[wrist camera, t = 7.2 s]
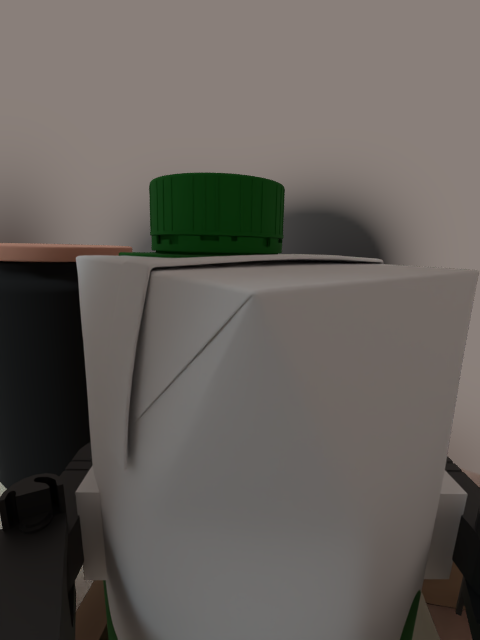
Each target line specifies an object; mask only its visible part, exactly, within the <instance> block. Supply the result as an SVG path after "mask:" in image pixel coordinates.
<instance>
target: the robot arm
mask: <svg viewBox="0 0 480 640" xmlns="http://www.w3.org/2000/svg"><path fill="white" fill-rule="evenodd" d="M0 516H1V522H2V527H3V529H0V640H75V622H76V589H75V580H76V577H77V575H78V573H79V571H80V569H81V567H82V565H83V569H84V579H85V580H107V572H106V560H105V548H104V537H103V525H102V514H101V502H100V492H99V489H98V486H97V483H96V479H95V476H94V471H93V464H92V451H91V442H89V443H88V444H86V445H85V446H84V447H82V448H81V449H80V450H79V451H78V452H77V454H76V455H75V456H74V458H73V459H72V462H70V463H69V464H68V466H67V467H66V468H65V471H63V472H62V474H61V475H60V476H57V475H56V474H49V473H44V474H37V475H33V476H30V477H27V478H24V479H22V480H20V481H18V482H17V483H15V484H13V485H12V486H10V487H9V488H8V489H7V490H6V491H5V492H3V494H2V495H1V497H0ZM453 562H454V563H455V564H456V566H457V567H458V569H459V570H460V572H461V573H462V575H463V578H462V583H461V587H460V591H459V596H458V600H457V604H456V614H458V615H461V614H462V609H463V606H465V609H466V613H467V618H468V622H469V626H470V630H471V634H472V639H473V640H480V488H479V487H478V486H477V485H476V484H475V483H474V482H473V481H472V480H471V479H470V478H469V477H468V476H467V475H466V474H465V473H464V472H462V471H461V469H460V468H459V467H458V466H457V465H456V464H453V462H452V460H451V459H450V458H448V457H447V460H446V466H445V472H444V477H443V482H442V487H441V493H440V498H439V503H438V508H437V513H436V519H435V524H434V529H433V534H432V539H431V544H430V549H429V555H428V560H427V565H426V570H425V575H424V579H449V577H450V573H451V568H452V563H453Z"/></svg>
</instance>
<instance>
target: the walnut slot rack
mask: <svg viewBox="0 0 480 640" xmlns="http://www.w3.org/2000/svg"><path fill="white" fill-rule="evenodd" d="M462 578H463V575H462V573H461V572H460V570H459V569H458V567H457V566H456V564H455V563H454V562H453V563H452V568H451V573H450V577H449V579H424V580H423V585H422V591H421V596H420V601H419V606H418V611H417V616H416V621H415V627H414V632H413V637H412V640H440V638H439V635H438V633H437V630H436V627H435V625H434V622H433V620H432V617H431V614H430V612H429V609H428V607H427V604H426V603H429V604H435V605H441V606H447V607H453V608H456V604H457V600H458V596H459V591H460V587H461V583H462ZM463 609H464V610H466V609H465V606H463ZM75 640H109V638H108V628H107V617H106V606H105V595H104V585H103V580H94V582H93V584H92V585H91V587H90V589H89V591H88V592H87V594H86V596H85V597H84V599H83V601H82V603H81V604H80V606H79V608H78V609H77V611H76V622H75Z"/></svg>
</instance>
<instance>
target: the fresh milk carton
mask: <svg viewBox="0 0 480 640" xmlns="http://www.w3.org/2000/svg"><path fill="white" fill-rule="evenodd" d="M149 191H150V226H151V232H150V235H151V236H152V250H156V252H152V253H151V252H150V253H140V252H139V253H138V252H137V253H136V252H120V253H119V256H109V255H84V256H77V257H76V264H77V272H78V283H79V298H80V311H81V323H82V335H83V343H84V356H85V369H86V382H87V396H88V410H89V426H90V439H91V451H92V464H93V471H94V476H95V479H96V483H97V486H98V489H99V492H100V502H101V514H102V525H103V537H104V548H105V560H106V572H107V580H103V585H104V595H105V606H106V617H107V628H108V638H109V640H412V637H413V632H414V627H415V621H416V616H417V611H418V606H419V601H420V596H421V591H422V585H423V580H424V575H425V570H426V565H427V560H428V555H429V549H430V544H431V539H432V534H433V529H434V524H435V519H436V513H437V508H438V503H439V498H440V493H441V487H442V482H443V477H444V472H445V466H446V460H447V454H448V447H449V441H450V435H451V428H452V423H453V417H454V410H455V404H456V398H457V392H458V386H459V380H460V374H461V367H462V362H463V356H464V351H465V345H466V340H467V333H468V329H469V323H470V318H471V312H472V307H473V301H474V296H475V290H476V285H477V280H478V276H479V271H478V270H469V269H452V268H435V267H420V266H404V265H403V266H402V265H387V264H383V261H382V260H380V259H375V258H360V257H347V256H336V255H306V254H278V253H281V252H282V239H283V217H284V192H285V189H284V186H283V185H282V184H280V183H278V182H276V181H273V180H269V179H265V178H260V177H255V176H247V175H240V174H228V173H182V174H173V175H166V176H162V177H158V178H155V179H153V180H152V181H151V182H150V186H149Z"/></svg>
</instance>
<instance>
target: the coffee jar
mask: <svg viewBox="0 0 480 640" xmlns="http://www.w3.org/2000/svg"><path fill="white" fill-rule="evenodd" d="M120 252H132V248H131V247H129V246H106V245H72V244H27V243H0V482H1V483H2V484H3V485H4V486H5V487H6V488H7V489H8V488H9V487H10V486H12V485H13V484H15V483H17V482H18V481H20V480H22V479H24V478H27V477H30V476H33V475H37V474H44V473H49V474H56V475H57V476H60V475H61V474H62V472H63V471H65V468H66V467H67V466H68V464H69V463H70V462H72V459H73V458H74V456H75V455H76V454H77V452H78V451H79V450H80V449H81V448H82V447H84V446H85V445H86V444H88V443H89V442H91V439H90V426H89V410H88V396H87V382H86V369H85V356H84V343H83V335H82V323H81V311H80V298H79V283H78V272H77V264H76V257H77V256H84V255H109V256H119V253H120Z"/></svg>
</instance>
